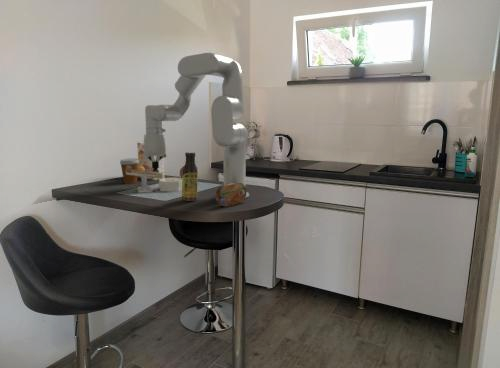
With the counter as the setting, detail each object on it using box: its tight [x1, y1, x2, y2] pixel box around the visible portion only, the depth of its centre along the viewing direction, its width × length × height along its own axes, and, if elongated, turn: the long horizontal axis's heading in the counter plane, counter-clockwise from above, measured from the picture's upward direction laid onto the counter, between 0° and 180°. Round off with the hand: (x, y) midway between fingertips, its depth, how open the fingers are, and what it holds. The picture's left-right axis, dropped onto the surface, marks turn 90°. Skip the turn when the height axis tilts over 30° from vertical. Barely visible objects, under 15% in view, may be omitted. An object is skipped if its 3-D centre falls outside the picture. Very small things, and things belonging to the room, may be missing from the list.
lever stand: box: [136, 174, 153, 194], centre depth 170 cm, size 9×6×8 cm, turn 21°
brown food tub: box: [119, 158, 139, 184], centre depth 190 cm, size 10×10×12 cm
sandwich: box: [215, 183, 247, 208], centre depth 146 cm, size 15×3×8 cm, turn 137°
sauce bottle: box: [181, 151, 199, 202], centre depth 151 cm, size 6×6×20 cm
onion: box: [179, 165, 199, 178], centre depth 193 cm, size 10×9×10 cm
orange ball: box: [137, 166, 145, 172], centre depth 169 cm, size 3×3×3 cm
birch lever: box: [126, 165, 163, 178], centre depth 173 cm, size 13×16×3 cm
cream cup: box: [158, 177, 182, 192], centre depth 175 cm, size 11×11×4 cm
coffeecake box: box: [137, 141, 165, 181], centre depth 205 cm, size 15×7×20 cm, turn 50°
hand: (155, 169), depth 179 cm, fingers closed
